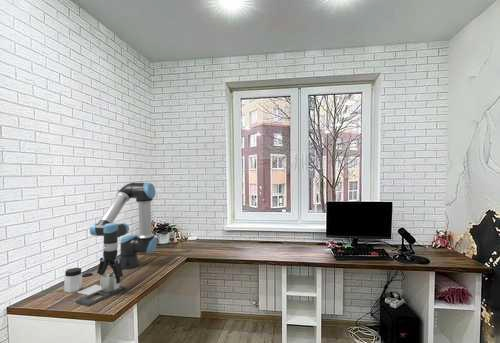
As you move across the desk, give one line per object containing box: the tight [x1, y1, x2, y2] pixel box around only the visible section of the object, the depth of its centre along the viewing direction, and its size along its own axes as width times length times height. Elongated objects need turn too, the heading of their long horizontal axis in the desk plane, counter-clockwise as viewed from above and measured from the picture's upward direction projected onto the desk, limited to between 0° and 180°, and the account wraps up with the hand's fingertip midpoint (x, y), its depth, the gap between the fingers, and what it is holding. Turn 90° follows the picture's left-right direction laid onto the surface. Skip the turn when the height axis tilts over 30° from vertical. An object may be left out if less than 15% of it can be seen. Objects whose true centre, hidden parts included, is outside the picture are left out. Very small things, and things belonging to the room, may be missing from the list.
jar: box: [63, 267, 83, 294], centre depth 161 cm, size 9×8×12 cm
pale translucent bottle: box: [101, 272, 118, 294], centre depth 158 cm, size 6×6×11 cm
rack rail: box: [75, 285, 126, 307], centre depth 153 cm, size 24×10×1 cm, turn 158°
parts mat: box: [76, 284, 101, 296], centre depth 160 cm, size 12×10×1 cm
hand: (109, 287), depth 158 cm, fingers open, 11 cm apart
